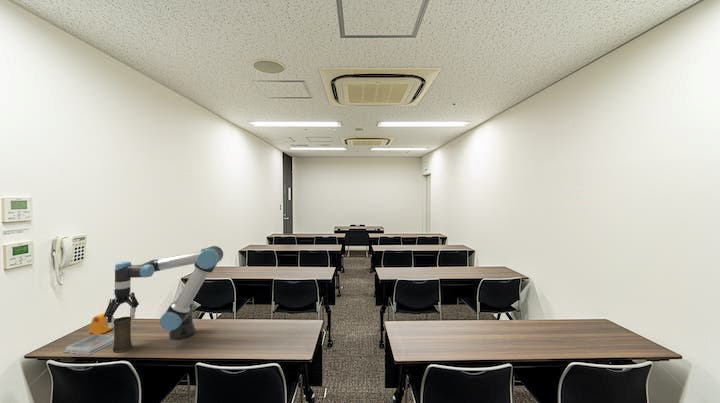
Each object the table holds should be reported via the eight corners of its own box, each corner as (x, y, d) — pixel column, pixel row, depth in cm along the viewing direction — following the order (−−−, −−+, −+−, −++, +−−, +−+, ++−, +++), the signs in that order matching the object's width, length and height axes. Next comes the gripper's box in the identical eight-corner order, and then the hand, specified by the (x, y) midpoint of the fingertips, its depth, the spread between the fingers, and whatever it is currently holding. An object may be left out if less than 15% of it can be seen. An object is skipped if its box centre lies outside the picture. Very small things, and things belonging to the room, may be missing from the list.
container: (121, 353, 170) (121, 322, 170) (108, 351, 172) (108, 321, 172) (135, 345, 179) (135, 316, 179) (123, 344, 181) (123, 315, 181)
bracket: (113, 329, 202) (113, 312, 202) (104, 334, 195) (104, 316, 195) (97, 329, 202) (97, 312, 202) (88, 334, 194) (88, 316, 194)
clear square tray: (119, 340, 186) (119, 335, 186) (89, 355, 168) (89, 349, 168) (95, 338, 189) (95, 333, 189) (63, 352, 171) (63, 347, 171)
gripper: (135, 281, 188) (135, 314, 188) (95, 293, 164) (95, 331, 164) (146, 282, 187) (145, 315, 187) (107, 294, 163) (106, 332, 163)
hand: (122, 322), depth 176 cm, fingers open, 13 cm apart
